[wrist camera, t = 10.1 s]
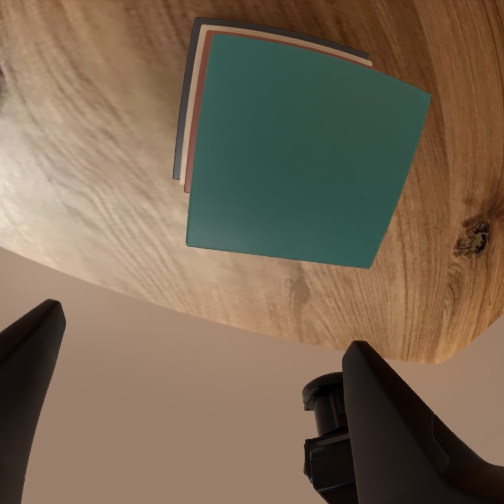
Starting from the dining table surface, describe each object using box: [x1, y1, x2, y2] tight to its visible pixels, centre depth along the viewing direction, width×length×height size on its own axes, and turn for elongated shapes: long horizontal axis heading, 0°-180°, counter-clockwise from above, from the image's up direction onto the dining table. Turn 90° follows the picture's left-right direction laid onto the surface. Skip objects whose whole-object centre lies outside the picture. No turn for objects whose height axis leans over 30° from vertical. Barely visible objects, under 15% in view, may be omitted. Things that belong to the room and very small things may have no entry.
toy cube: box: [186, 34, 431, 269], centre depth 8 cm, size 5×5×5 cm
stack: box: [173, 17, 379, 193], centre depth 13 cm, size 9×9×7 cm
